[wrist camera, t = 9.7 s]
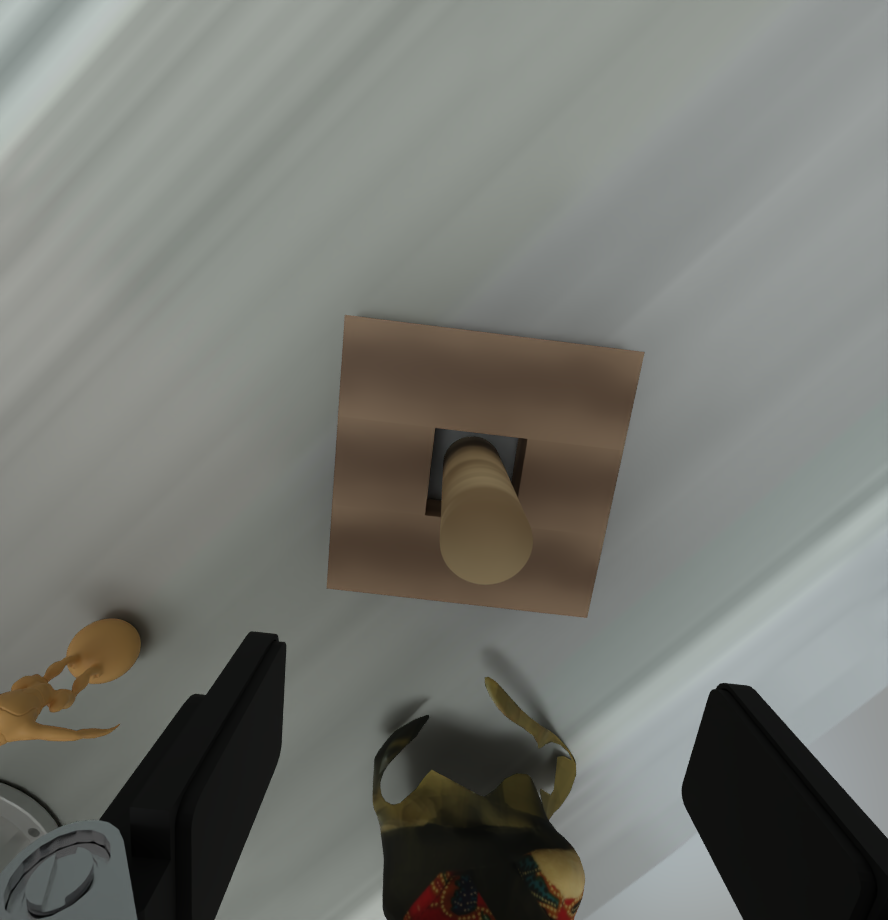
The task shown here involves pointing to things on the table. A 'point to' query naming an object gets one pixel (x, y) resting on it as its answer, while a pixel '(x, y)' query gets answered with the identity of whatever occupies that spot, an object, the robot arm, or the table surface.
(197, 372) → the table surface
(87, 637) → the figurine
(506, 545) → the peg
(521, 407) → the socket block
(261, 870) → the table surface
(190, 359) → the table surface
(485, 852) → the red green tall figure
